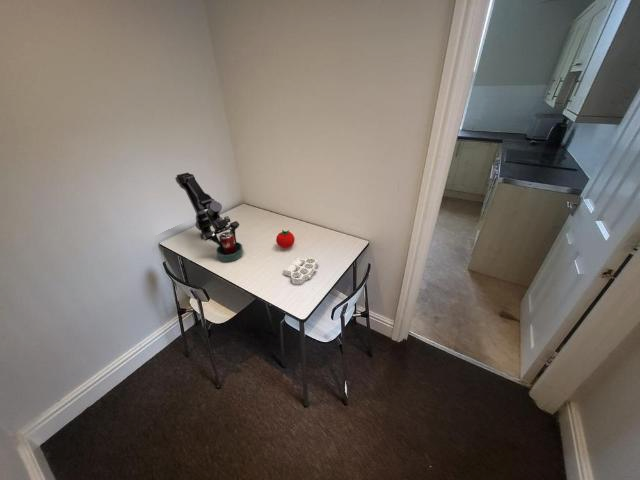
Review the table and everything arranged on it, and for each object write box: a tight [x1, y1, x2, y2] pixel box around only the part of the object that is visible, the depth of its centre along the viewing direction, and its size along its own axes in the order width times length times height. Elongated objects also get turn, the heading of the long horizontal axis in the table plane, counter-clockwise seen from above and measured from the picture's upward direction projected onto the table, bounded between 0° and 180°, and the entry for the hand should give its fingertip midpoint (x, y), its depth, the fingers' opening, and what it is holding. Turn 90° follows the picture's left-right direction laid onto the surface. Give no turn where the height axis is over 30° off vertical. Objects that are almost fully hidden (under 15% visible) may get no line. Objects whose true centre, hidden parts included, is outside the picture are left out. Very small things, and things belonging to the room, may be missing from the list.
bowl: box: [215, 241, 244, 263], centre depth 138 cm, size 13×13×4 cm
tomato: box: [275, 229, 296, 249], centre depth 143 cm, size 10×10×10 cm
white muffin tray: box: [282, 257, 318, 285], centre depth 126 cm, size 3×18×15 cm
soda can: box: [218, 231, 237, 255], centre depth 136 cm, size 7×7×12 cm
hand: (229, 244), depth 135 cm, fingers closed on soda can, 7 cm apart
